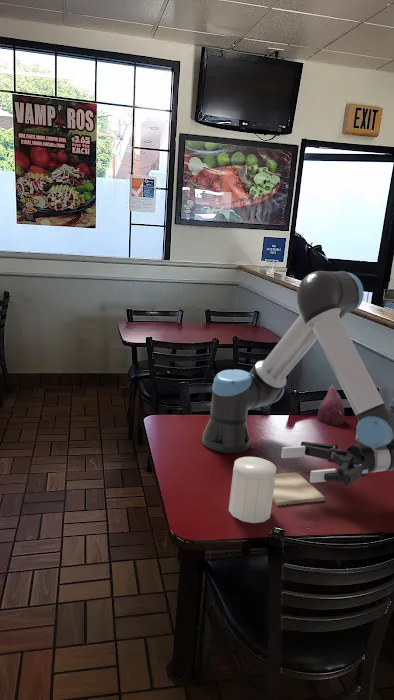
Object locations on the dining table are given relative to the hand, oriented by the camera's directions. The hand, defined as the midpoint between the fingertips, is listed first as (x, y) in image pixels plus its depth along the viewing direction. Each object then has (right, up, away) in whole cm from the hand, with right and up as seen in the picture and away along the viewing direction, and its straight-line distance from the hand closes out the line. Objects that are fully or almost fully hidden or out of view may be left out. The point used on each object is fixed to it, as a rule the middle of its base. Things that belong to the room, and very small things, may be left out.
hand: (295, 464), depth 122 cm
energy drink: (+33, -4, +51) cm, 61 cm away
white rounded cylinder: (-11, -11, -1) cm, 16 cm away
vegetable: (+27, +1, +69) cm, 74 cm away
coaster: (0, -10, +12) cm, 15 cm away
